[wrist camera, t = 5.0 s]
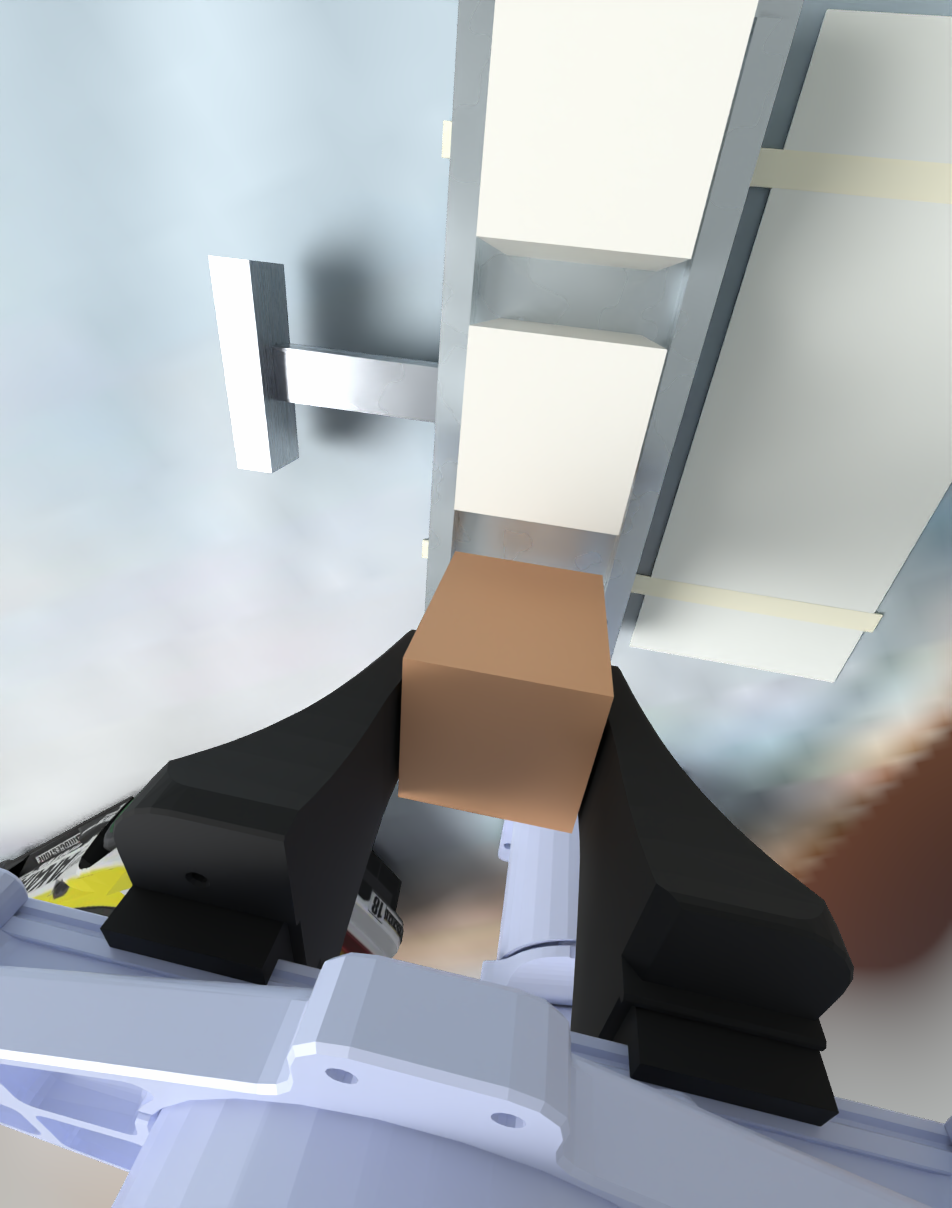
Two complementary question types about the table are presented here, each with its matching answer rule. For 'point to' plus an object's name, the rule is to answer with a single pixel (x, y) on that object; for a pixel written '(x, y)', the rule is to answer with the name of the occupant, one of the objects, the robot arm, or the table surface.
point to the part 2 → (554, 422)
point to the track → (823, 370)
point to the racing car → (99, 882)
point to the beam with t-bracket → (512, 291)
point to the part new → (506, 691)
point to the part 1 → (606, 126)
